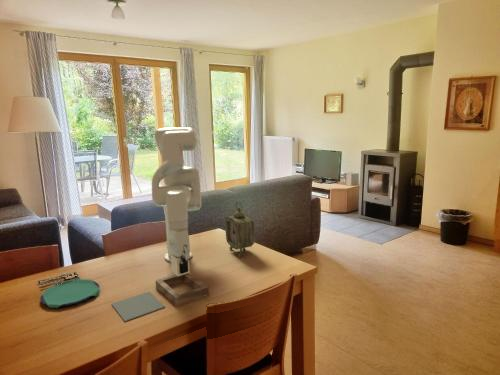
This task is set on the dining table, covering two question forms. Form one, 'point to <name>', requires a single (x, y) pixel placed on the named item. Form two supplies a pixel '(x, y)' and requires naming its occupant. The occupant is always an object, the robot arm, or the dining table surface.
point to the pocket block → (183, 298)
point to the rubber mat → (137, 306)
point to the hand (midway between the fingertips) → (180, 269)
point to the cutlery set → (69, 291)
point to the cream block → (177, 265)
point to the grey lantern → (239, 231)
